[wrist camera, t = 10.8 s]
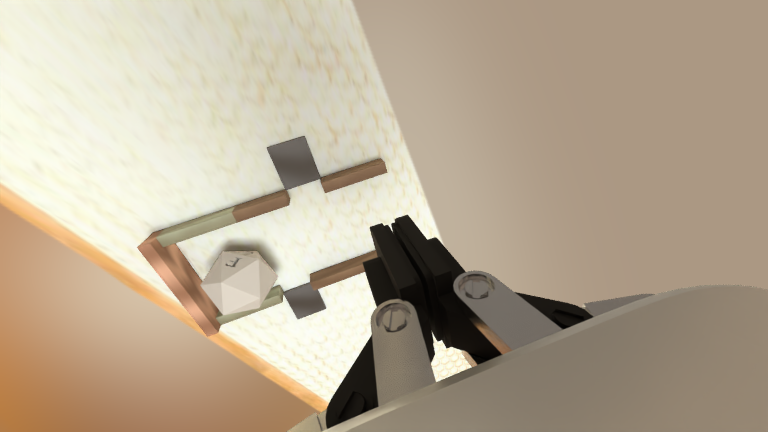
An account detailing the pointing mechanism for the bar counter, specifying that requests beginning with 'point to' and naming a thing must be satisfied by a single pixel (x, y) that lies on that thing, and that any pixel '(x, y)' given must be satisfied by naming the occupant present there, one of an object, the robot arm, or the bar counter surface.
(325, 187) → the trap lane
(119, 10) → the bar counter surface
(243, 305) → the die
